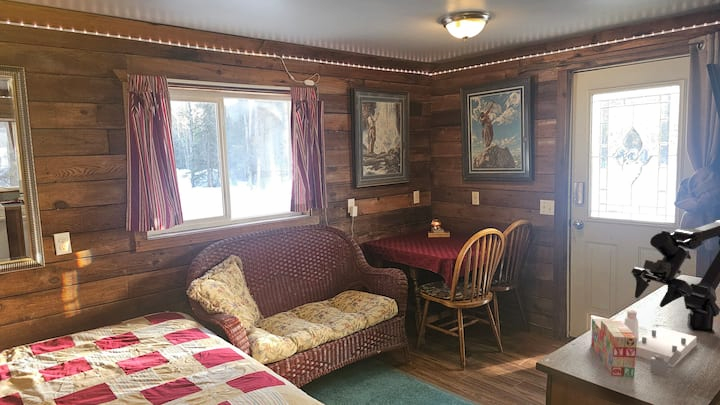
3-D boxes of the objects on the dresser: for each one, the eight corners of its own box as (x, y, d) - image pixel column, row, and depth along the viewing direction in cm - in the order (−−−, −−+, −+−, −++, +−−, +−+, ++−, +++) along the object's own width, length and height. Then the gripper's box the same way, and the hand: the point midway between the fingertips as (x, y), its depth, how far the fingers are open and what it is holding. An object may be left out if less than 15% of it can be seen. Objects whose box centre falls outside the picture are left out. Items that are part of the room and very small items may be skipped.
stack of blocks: (590, 344, 159) (592, 309, 157) (610, 345, 158) (612, 310, 156) (611, 376, 138) (613, 335, 136) (634, 378, 137) (637, 337, 135)
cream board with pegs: (658, 335, 165) (659, 322, 164) (695, 345, 156) (697, 332, 156) (633, 354, 151) (634, 341, 150) (673, 367, 142) (674, 352, 142)
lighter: (650, 372, 139) (652, 346, 138) (651, 370, 141) (652, 344, 140) (679, 379, 135) (681, 353, 134) (679, 377, 136) (682, 350, 135)
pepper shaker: (623, 338, 163) (625, 307, 161) (641, 342, 159) (643, 311, 158) (618, 343, 159) (620, 311, 158) (636, 348, 155) (638, 315, 154)
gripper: (633, 244, 167) (610, 282, 165) (685, 257, 149) (660, 299, 148) (651, 261, 171) (629, 297, 169) (703, 274, 153) (679, 316, 152)
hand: (647, 302), depth 159 cm, fingers open, 9 cm apart
